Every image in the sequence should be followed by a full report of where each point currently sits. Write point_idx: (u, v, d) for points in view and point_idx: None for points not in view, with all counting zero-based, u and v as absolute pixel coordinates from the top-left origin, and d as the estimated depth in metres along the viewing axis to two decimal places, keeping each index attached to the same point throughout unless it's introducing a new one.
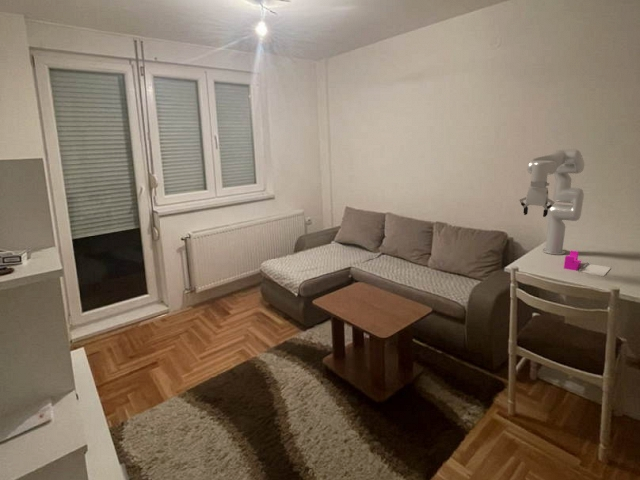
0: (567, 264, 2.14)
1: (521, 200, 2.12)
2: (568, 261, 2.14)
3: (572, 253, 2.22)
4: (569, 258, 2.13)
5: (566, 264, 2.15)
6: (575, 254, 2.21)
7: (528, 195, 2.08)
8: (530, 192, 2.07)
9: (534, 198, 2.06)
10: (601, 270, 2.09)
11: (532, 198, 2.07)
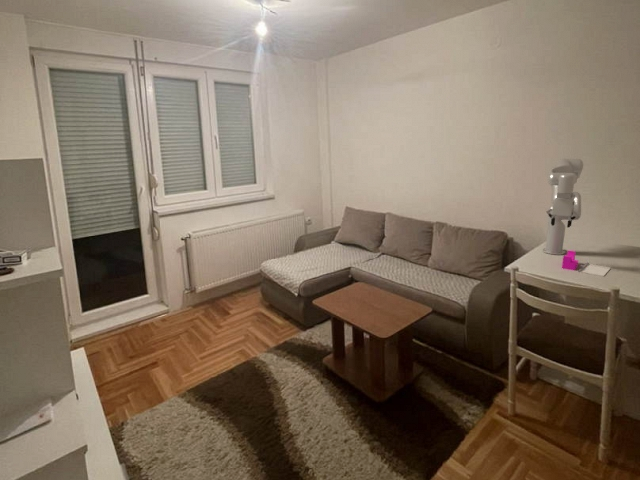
0: (565, 264, 2.14)
1: (548, 211, 2.22)
2: (566, 261, 2.14)
3: (569, 253, 2.23)
4: (567, 258, 2.13)
5: (564, 264, 2.15)
6: (572, 254, 2.22)
7: (554, 206, 2.18)
8: (556, 202, 2.17)
9: (560, 209, 2.16)
10: (601, 270, 2.09)
11: (558, 209, 2.17)
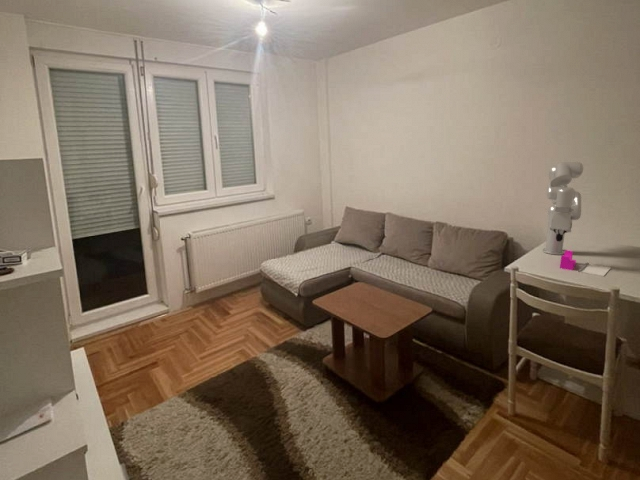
0: (563, 264, 2.15)
1: (551, 228, 2.23)
2: (564, 261, 2.14)
3: (567, 253, 2.23)
4: (565, 258, 2.13)
5: (562, 264, 2.15)
6: (570, 254, 2.22)
7: (553, 220, 2.20)
8: (555, 216, 2.19)
9: (559, 223, 2.18)
10: (601, 270, 2.09)
11: (557, 223, 2.18)
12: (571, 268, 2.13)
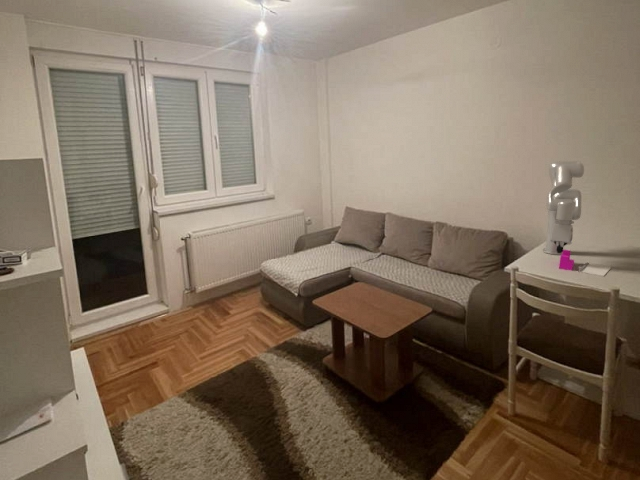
0: (562, 264, 2.14)
1: (552, 240, 2.24)
2: (563, 261, 2.14)
3: (565, 252, 2.23)
4: (564, 258, 2.13)
5: (561, 263, 2.15)
6: (568, 253, 2.22)
7: (553, 232, 2.21)
8: (555, 228, 2.20)
9: (559, 235, 2.19)
10: (601, 270, 2.09)
11: (557, 235, 2.20)
12: (570, 268, 2.12)
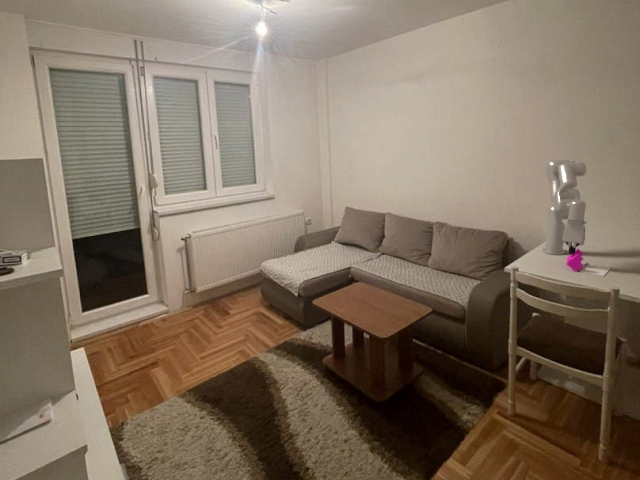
0: (572, 262, 2.10)
1: (563, 241, 2.19)
2: (575, 260, 2.09)
3: (578, 252, 2.18)
4: (579, 258, 2.08)
5: (571, 261, 2.10)
6: (579, 254, 2.18)
7: (565, 232, 2.16)
8: (567, 229, 2.15)
9: (571, 235, 2.14)
10: (601, 270, 2.09)
11: (569, 236, 2.15)
12: (576, 269, 2.10)
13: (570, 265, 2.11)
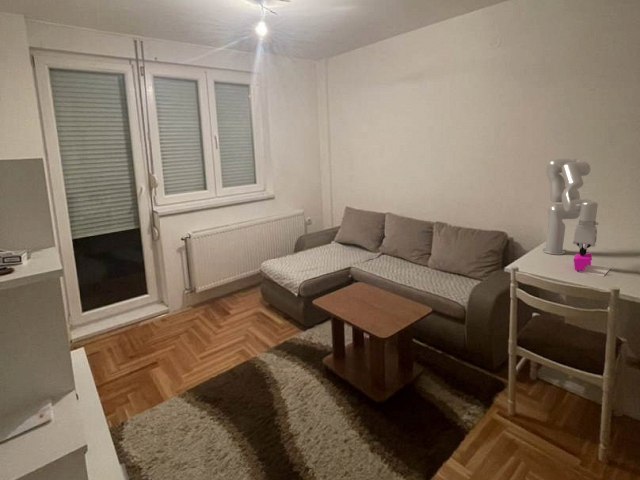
0: (580, 261, 2.08)
1: (574, 242, 2.16)
2: (584, 262, 2.07)
3: (588, 256, 2.15)
4: (588, 262, 2.05)
5: (580, 260, 2.08)
6: None
7: (576, 233, 2.13)
8: (578, 230, 2.11)
9: (582, 237, 2.11)
10: (601, 270, 2.09)
11: (580, 237, 2.11)
12: (577, 268, 2.09)
13: (575, 262, 2.09)
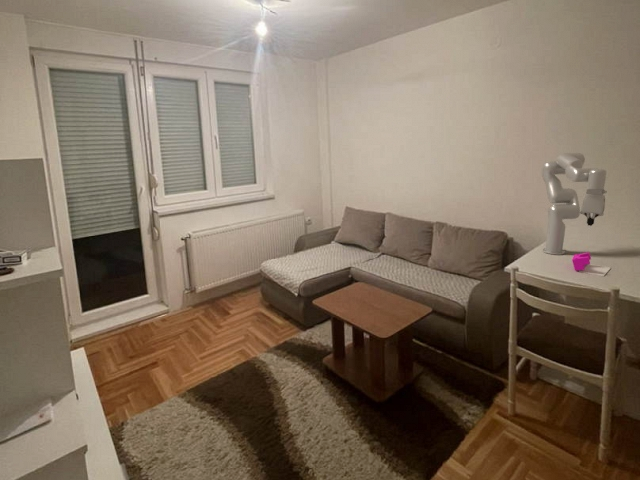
0: (578, 261, 2.08)
1: (582, 212, 2.10)
2: (582, 261, 2.07)
3: (587, 255, 2.16)
4: (587, 261, 2.06)
5: (578, 260, 2.08)
6: None
7: (584, 203, 2.07)
8: (586, 199, 2.06)
9: (590, 206, 2.06)
10: (601, 270, 2.09)
11: (588, 206, 2.06)
12: (577, 269, 2.09)
13: (574, 263, 2.09)
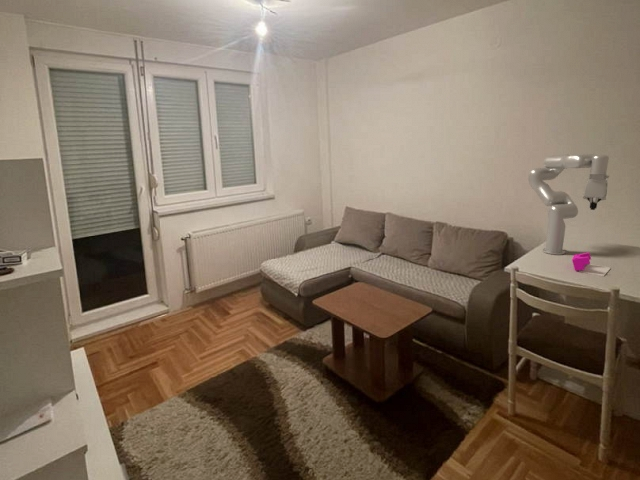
0: (578, 261, 2.08)
1: (585, 197, 2.18)
2: (582, 261, 2.07)
3: (587, 255, 2.16)
4: (587, 261, 2.06)
5: (578, 260, 2.08)
6: None
7: (587, 187, 2.15)
8: (589, 184, 2.14)
9: (593, 191, 2.13)
10: (601, 270, 2.09)
11: (591, 191, 2.14)
12: (577, 269, 2.09)
13: (574, 263, 2.09)
